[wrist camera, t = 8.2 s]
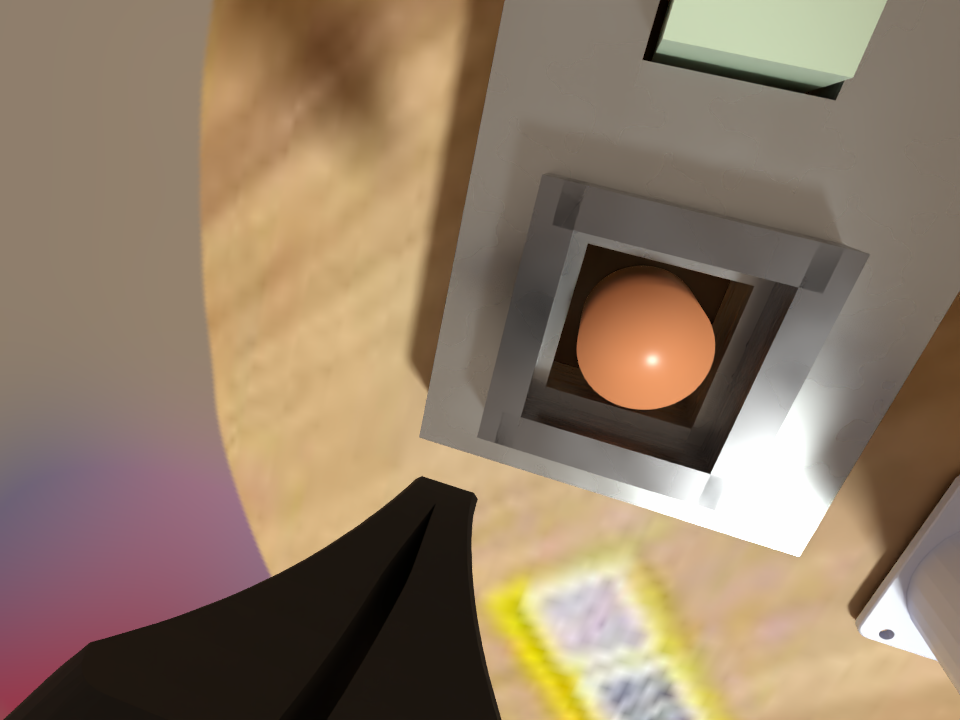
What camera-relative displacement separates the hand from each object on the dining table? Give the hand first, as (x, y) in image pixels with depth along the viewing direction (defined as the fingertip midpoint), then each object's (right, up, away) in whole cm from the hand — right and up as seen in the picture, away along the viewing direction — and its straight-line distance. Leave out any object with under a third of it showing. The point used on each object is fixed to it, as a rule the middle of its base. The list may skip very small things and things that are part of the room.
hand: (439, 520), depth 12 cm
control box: (+8, +9, +5) cm, 14 cm away
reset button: (+6, +5, +7) cm, 11 cm away
